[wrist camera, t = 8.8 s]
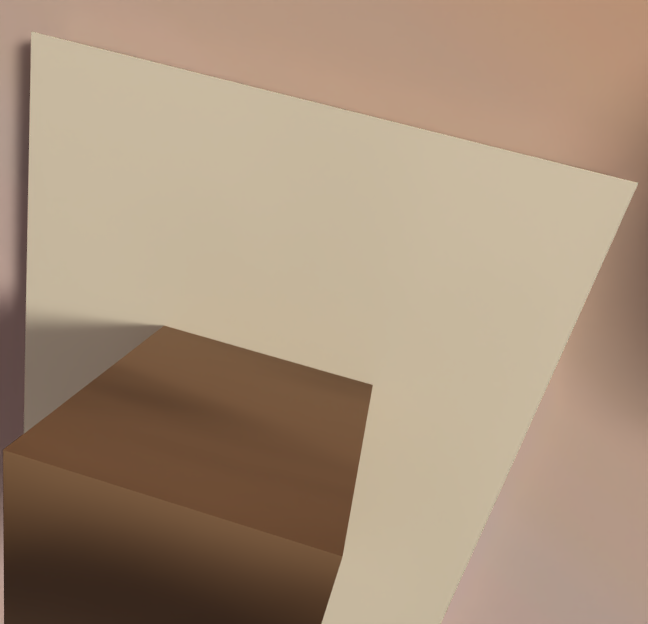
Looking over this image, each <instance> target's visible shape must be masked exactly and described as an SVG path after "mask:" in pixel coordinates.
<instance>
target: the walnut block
mask: <svg viewBox="0 0 648 624" xmlns="http://www.w3.org/2000/svg"><path fill="white" fill-rule="evenodd" d="M372 387H373V385H371V384H368V383H364V382H361V381H357V380H354V379H350V378H347V377H343V376H340V375H336V374H333V373H329V372H326V371H322V370H319V369H315V368H312V367H308V366H305V365H301V364H298V363H294V362H291V361H287V360H283V359H280V358H276V357H273V356H269V355H266V354H262V353H259V352H255V351H252V350H248V349H245V348H241V347H238V346H234V345H231V344H227V343H224V342H220V341H217V340H213V339H210V338H206V337H203V336H199V335H196V334H192V333H189V332H185V331H182V330H178V329H175V328H171V327H168V326H163V327H162V328H160V329H159V330H158V331H156V332H155V333H154V334H152V335H151V336H150V337H149V338H147V339H146V340H145V341H143V342H142V343H141V344H140V345H138V346H137V347H136V348H134V349H133V350H132V351H130V352H129V353H128V354H127V355H125V356H124V357H123V358H121V359H120V360H119V361H118V362H116V363H115V364H114V365H112V366H111V367H110V368H108V369H107V370H106V371H105V372H103V373H102V374H101V375H99V376H98V377H97V378H95V379H94V380H93V381H92V382H90V383H89V384H88V385H86V386H85V387H84V388H83V389H81V390H80V391H79V392H77V393H76V394H75V395H73V396H72V397H71V398H70V399H68V400H67V401H66V402H64V403H63V404H62V405H61V406H59V407H58V408H57V409H55V410H54V411H53V412H51V413H50V414H49V415H48V416H46V417H45V418H44V419H42V420H41V421H40V422H38V423H37V424H36V425H35V426H33V427H32V428H31V429H29V430H28V431H27V432H26V433H24V434H23V435H22V436H20V437H19V438H18V439H16V440H15V441H14V442H13V443H11V444H10V445H9V446H7V447H6V448H5V449H3V512H4V624H321V623H322V620H323V617H324V614H325V611H326V608H327V604H328V601H329V598H330V595H331V592H332V589H333V585H334V582H335V579H336V576H337V573H338V570H339V566H340V563H341V560H342V557H343V551H344V546H345V540H346V534H347V529H348V523H349V517H350V512H351V506H352V500H353V495H354V489H355V483H356V478H357V472H358V466H359V461H360V455H361V449H362V444H363V438H364V432H365V427H366V421H367V415H368V410H369V404H370V398H371V393H372Z"/></svg>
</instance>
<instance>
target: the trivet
mask: <svg viewBox="0 0 648 624" xmlns="http://www.w3.org/2000/svg"><path fill="white" fill-rule="evenodd" d="M637 185H638V183H637V182H633V181H629V180H625V179H621V178H617V177H613V176H609V175H605V174H600V173H596V172H592V171H588V170H584V169H580V168H576V167H572V166H568V165H564V164H560V163H556V162H552V161H548V160H544V159H540V158H536V157H532V156H528V155H524V154H520V153H516V152H512V151H508V150H504V149H500V148H496V147H492V146H488V145H484V144H480V143H476V142H472V141H468V140H464V139H460V138H456V137H452V136H448V135H444V134H440V133H436V132H432V131H428V130H424V129H420V128H416V127H412V126H408V125H404V124H400V123H396V122H392V121H388V120H384V119H380V118H376V117H372V116H368V115H364V114H360V113H356V112H352V111H348V110H344V109H340V108H336V107H332V106H328V105H324V104H320V103H316V102H312V101H308V100H304V99H300V98H296V97H292V96H288V95H284V94H280V93H276V92H272V91H268V90H264V89H260V88H256V87H252V86H248V85H244V84H240V83H236V82H232V81H228V80H224V79H220V78H216V77H212V76H208V75H204V74H200V73H196V72H192V71H188V70H184V69H180V68H176V67H172V66H168V65H164V64H160V63H156V62H152V61H148V60H144V59H140V58H136V57H132V56H128V55H124V54H120V53H116V52H112V51H108V50H104V49H100V48H96V47H92V46H88V45H84V44H80V43H76V42H72V41H68V40H64V39H60V38H56V37H52V36H48V35H44V34H40V33H36V32H32V31H31V71H30V124H29V176H28V229H27V281H26V333H25V386H24V433H26V432H27V431H28V430H29V429H31V428H32V427H33V426H35V425H36V424H37V423H38V422H40V421H41V420H42V419H44V418H45V417H46V416H48V415H49V414H50V413H51V412H53V411H54V410H55V409H57V408H58V407H59V406H61V405H62V404H63V403H64V402H66V401H67V400H68V399H70V398H71V397H72V396H73V395H75V394H76V393H77V392H79V391H80V390H81V389H83V388H84V387H85V386H86V385H88V384H89V383H90V382H92V381H93V380H94V379H95V378H97V377H98V376H99V375H101V374H102V373H103V372H105V371H106V370H107V369H108V368H110V367H111V366H112V365H114V364H115V363H116V362H118V361H119V360H120V359H121V358H123V357H124V356H125V355H127V354H128V353H129V352H130V351H132V350H133V349H134V348H136V347H137V346H138V345H140V344H141V343H142V342H143V341H145V340H146V339H147V338H149V337H150V336H151V335H152V334H154V333H155V332H156V331H158V330H159V329H160V328H162V327H163V326H168V327H171V328H175V329H178V330H182V331H185V332H189V333H192V334H196V335H199V336H203V337H206V338H210V339H213V340H217V341H220V342H224V343H227V344H231V345H234V346H238V347H241V348H245V349H248V350H252V351H255V352H259V353H262V354H266V355H269V356H273V357H276V358H280V359H283V360H287V361H291V362H294V363H298V364H301V365H305V366H308V367H312V368H315V369H319V370H322V371H326V372H329V373H333V374H336V375H340V376H343V377H347V378H350V379H354V380H357V381H361V382H364V383H368V384H371V385H373V387H372V393H371V398H370V404H369V410H368V415H367V421H366V427H365V432H364V438H363V444H362V449H361V455H360V461H359V466H358V472H357V478H356V483H355V489H354V495H353V500H352V506H351V512H350V517H349V523H348V529H347V534H346V540H345V546H344V551H343V557H342V560H341V563H340V566H339V570H338V573H337V576H336V579H335V582H334V585H333V589H332V592H331V595H330V598H329V601H328V604H327V608H326V611H325V614H324V617H323V620H322V623H321V624H441V622H442V620H443V618H444V615H445V613H446V611H447V609H448V606H449V604H450V602H451V600H452V598H453V595H454V593H455V591H456V589H457V586H458V584H459V582H460V580H461V577H462V575H463V573H464V571H465V569H466V566H467V564H468V562H469V560H470V557H471V555H472V553H473V551H474V548H475V546H476V544H477V542H478V540H479V537H480V535H481V533H482V531H483V528H484V526H485V524H486V522H487V520H488V517H489V515H490V513H491V511H492V508H493V506H494V504H495V502H496V499H497V497H498V495H499V493H500V491H501V488H502V486H503V484H504V482H505V479H506V477H507V475H508V473H509V470H510V468H511V466H512V464H513V462H514V459H515V457H516V455H517V453H518V450H519V448H520V446H521V444H522V441H523V439H524V437H525V435H526V433H527V430H528V428H529V426H530V424H531V421H532V419H533V417H534V415H535V413H536V410H537V408H538V406H539V404H540V401H541V399H542V397H543V395H544V392H545V390H546V388H547V386H548V384H549V381H550V379H551V377H552V375H553V372H554V370H555V368H556V366H557V363H558V361H559V359H560V357H561V355H562V352H563V350H564V348H565V346H566V343H567V341H568V339H569V337H570V334H571V332H572V330H573V328H574V326H575V323H576V321H577V319H578V317H579V314H580V312H581V310H582V308H583V306H584V303H585V301H586V299H587V297H588V294H589V292H590V290H591V288H592V285H593V283H594V281H595V279H596V277H597V274H598V272H599V270H600V268H601V265H602V263H603V261H604V259H605V256H606V254H607V252H608V250H609V248H610V245H611V243H612V241H613V239H614V236H615V234H616V232H617V230H618V227H619V225H620V223H621V221H622V219H623V216H624V214H625V212H626V210H627V207H628V205H629V203H630V201H631V198H632V196H633V194H634V192H635V190H636V187H637Z"/></svg>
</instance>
